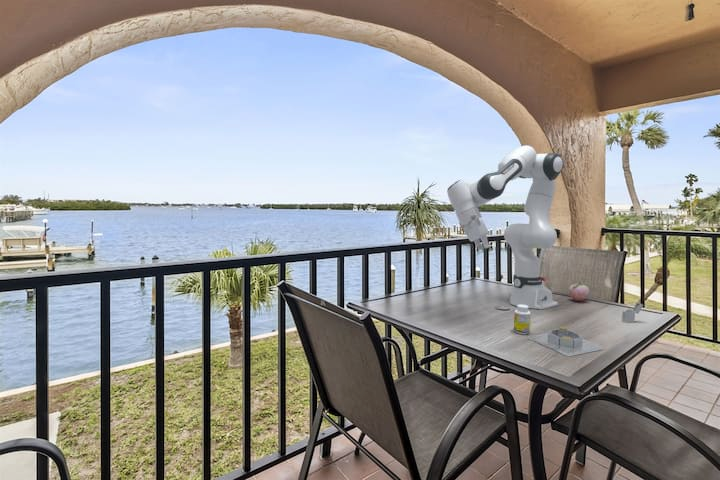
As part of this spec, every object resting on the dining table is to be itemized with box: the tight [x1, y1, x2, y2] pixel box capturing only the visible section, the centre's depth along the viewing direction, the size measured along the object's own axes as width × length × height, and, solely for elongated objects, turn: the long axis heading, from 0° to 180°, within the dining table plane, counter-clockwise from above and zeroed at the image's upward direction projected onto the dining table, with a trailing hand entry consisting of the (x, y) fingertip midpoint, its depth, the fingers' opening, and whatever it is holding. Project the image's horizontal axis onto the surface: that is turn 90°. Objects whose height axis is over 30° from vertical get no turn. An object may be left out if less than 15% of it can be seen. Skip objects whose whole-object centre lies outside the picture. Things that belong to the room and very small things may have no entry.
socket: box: [527, 326, 604, 358], centre depth 121 cm, size 16×16×4 cm
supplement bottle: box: [513, 305, 531, 335], centre depth 132 cm, size 6×6×10 cm
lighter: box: [621, 302, 644, 324], centre depth 144 cm, size 7×2×8 cm, turn 91°
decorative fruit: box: [568, 281, 590, 302], centre depth 175 cm, size 9×8×10 cm
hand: (484, 248), depth 142 cm, fingers open, 8 cm apart
